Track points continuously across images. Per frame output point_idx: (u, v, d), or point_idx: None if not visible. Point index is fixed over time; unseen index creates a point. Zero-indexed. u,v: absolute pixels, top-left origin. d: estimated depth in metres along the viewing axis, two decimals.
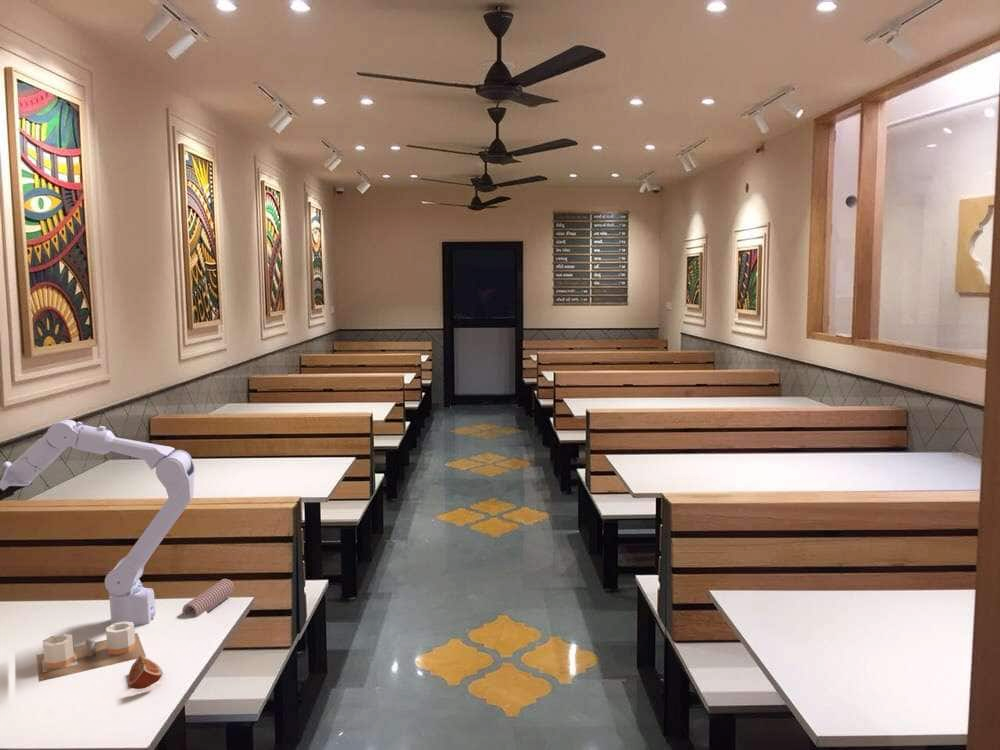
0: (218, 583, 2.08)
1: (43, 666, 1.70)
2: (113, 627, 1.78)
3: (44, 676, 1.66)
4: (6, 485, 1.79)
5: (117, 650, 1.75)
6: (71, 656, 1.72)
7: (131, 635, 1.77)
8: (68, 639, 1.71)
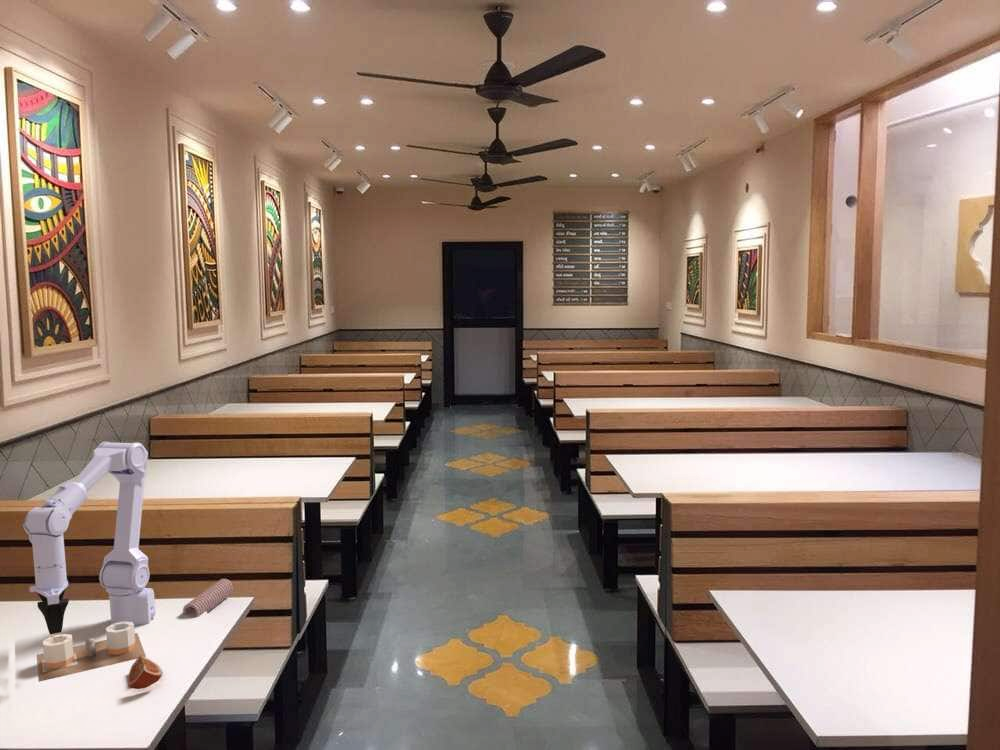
0: (217, 583, 2.08)
1: (43, 666, 1.70)
2: (113, 627, 1.78)
3: (44, 676, 1.66)
4: (56, 597, 1.64)
5: (117, 650, 1.75)
6: (71, 656, 1.72)
7: (131, 635, 1.77)
8: (68, 639, 1.71)
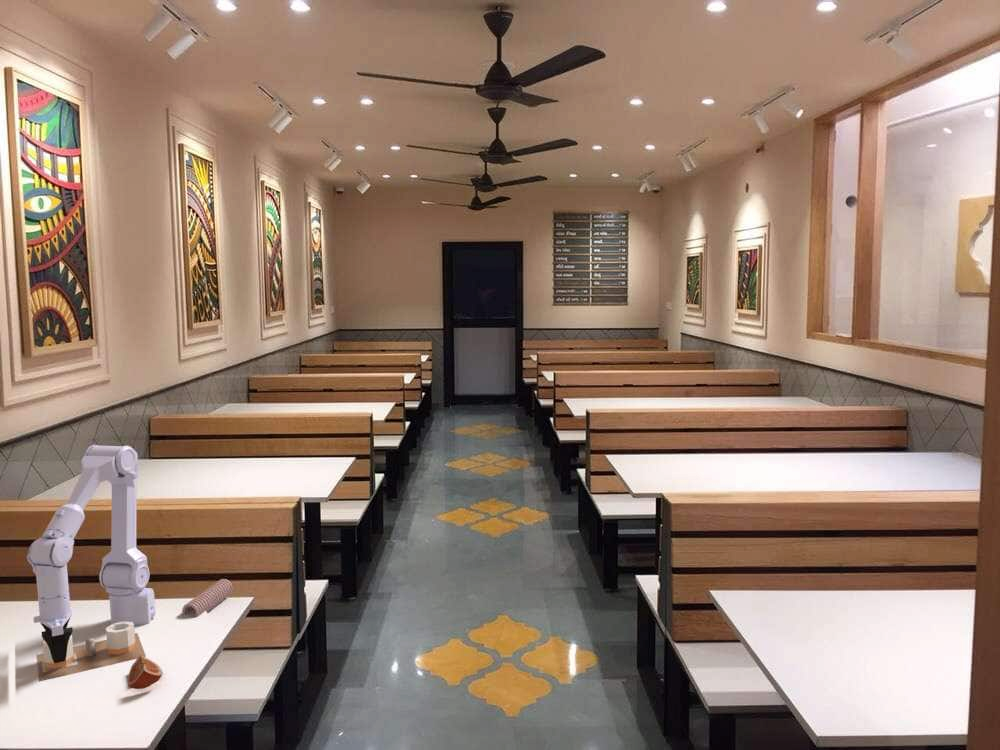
0: (217, 583, 2.08)
1: (43, 666, 1.70)
2: (113, 627, 1.78)
3: (44, 676, 1.66)
4: (61, 628, 1.65)
5: (117, 650, 1.75)
6: (71, 656, 1.72)
7: (131, 635, 1.77)
8: None
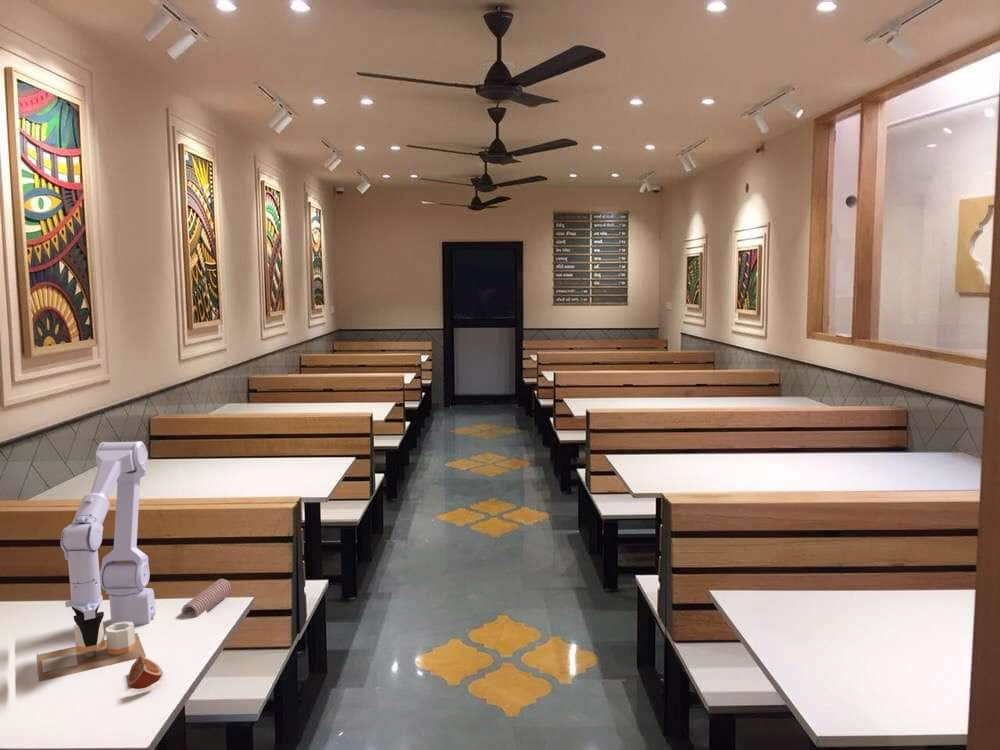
0: (215, 583, 2.08)
1: (43, 666, 1.70)
2: (113, 627, 1.78)
3: (44, 676, 1.66)
4: (93, 612, 1.68)
5: (117, 650, 1.75)
6: (102, 640, 1.75)
7: (131, 635, 1.77)
8: None
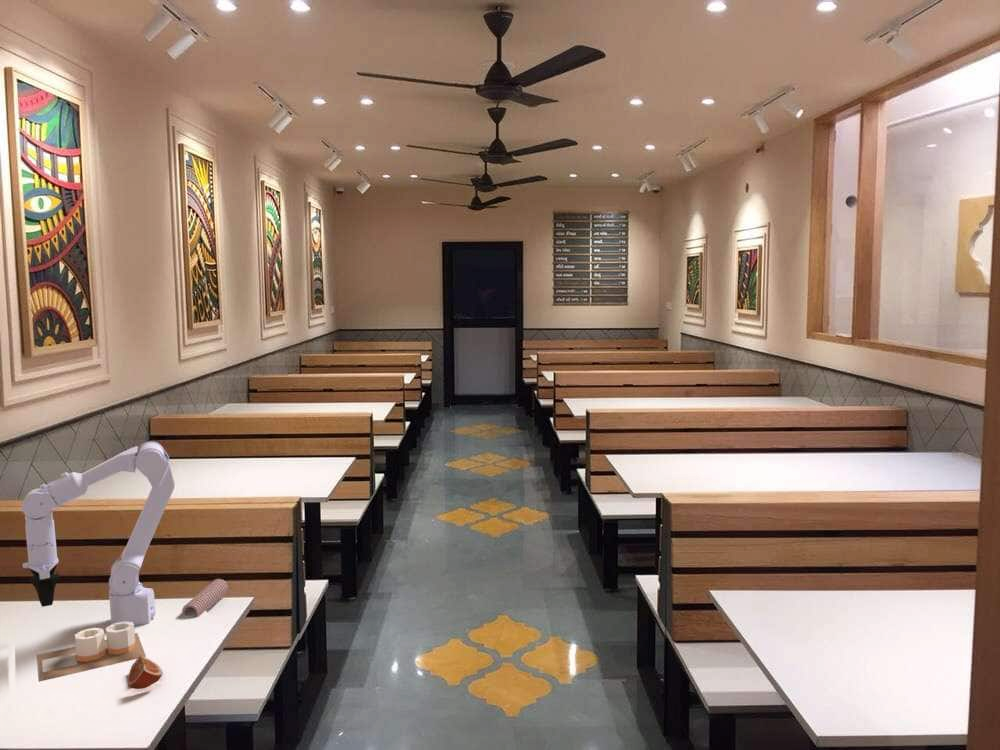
0: (213, 583, 2.08)
1: (43, 666, 1.70)
2: (113, 627, 1.78)
3: (44, 676, 1.66)
4: (47, 572, 1.79)
5: (117, 650, 1.75)
6: (103, 650, 1.75)
7: (131, 635, 1.77)
8: (100, 633, 1.75)
